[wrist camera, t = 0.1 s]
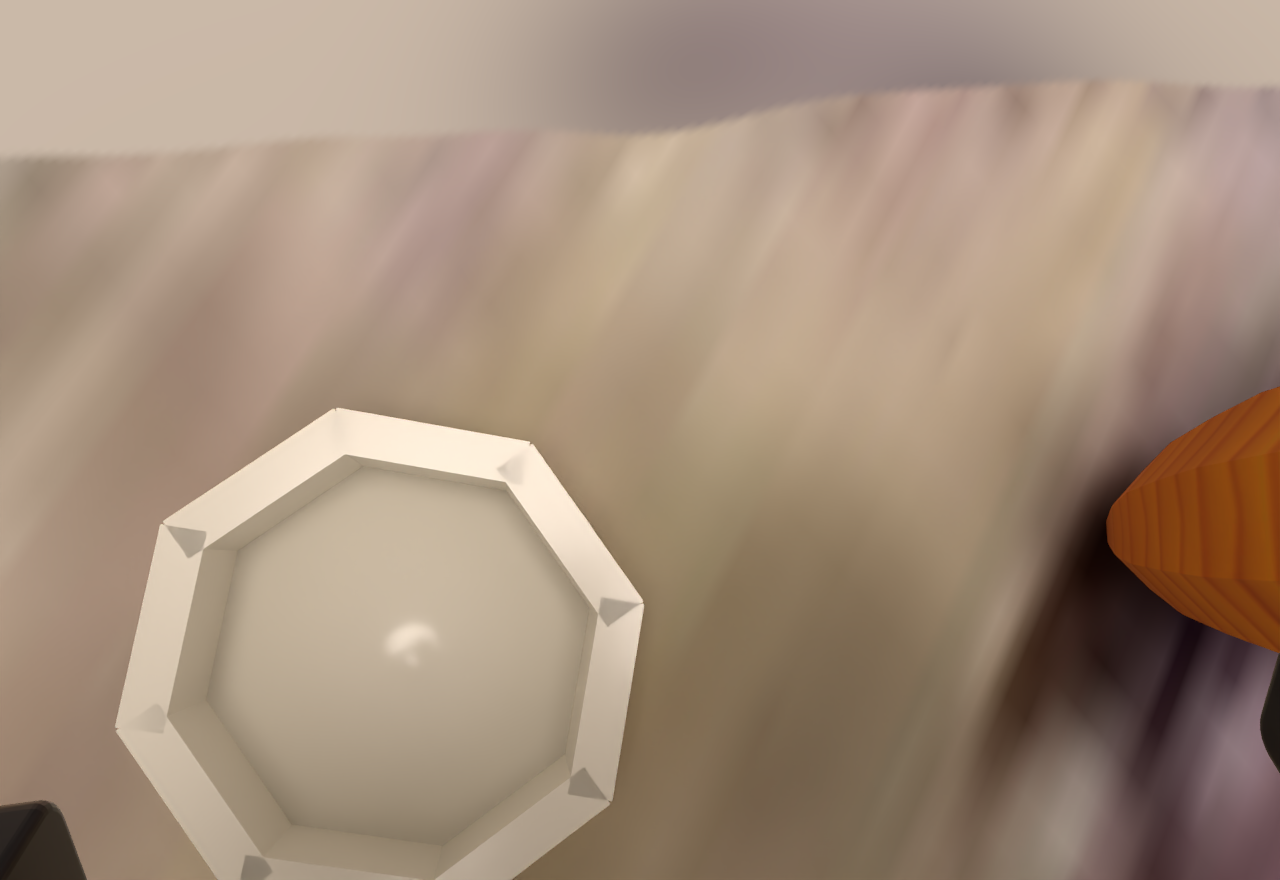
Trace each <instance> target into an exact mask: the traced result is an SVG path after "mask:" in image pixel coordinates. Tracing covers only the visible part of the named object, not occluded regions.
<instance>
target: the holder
mask: <svg viewBox="0 0 1280 880" xmlns="http://www.w3.org/2000/svg"><path fill="white" fill-rule="evenodd" d="M163 523H164V524H165V525H163V524H160V528H159V532H158V537H157V541H156V546H155V550H154V555H153V559H152V564H151V568H150V573H149V577H148V581H147V586H146V590H145V595H144V599H143V604H142V608H141V613H140V617H139V622H138V626H137V631H136V635H135V640H134V644H133V649H132V653H131V658H130V662H129V666H128V671H127V675H126V680H125V684H124V689H123V693H122V698H121V702H120V707H119V711H118V716H117V720H116V725H115V728H119V729H118V730H116V732H117V734H118V735H119V737H120V738H121V740H122V741H123V742H124V744H125V745H126V747H127V748H128V750H129V751H130V753H131V754H132V756H133V757H134V758H135V760H136V761H137V763H138V764H139V766H140V767H141V769H142V770H143V772H144V773H145V775H146V776H147V777H148V779H149V780H150V782H151V783H152V785H153V786H154V788H155V789H156V791H157V792H158V794H159V795H160V796H161V798H162V799H163V801H164V802H165V804H166V805H167V807H168V808H169V810H170V811H171V812H172V814H173V815H174V817H175V818H176V820H177V821H178V823H179V824H180V826H181V827H182V829H183V830H184V831H185V833H186V834H187V836H188V837H189V839H190V840H191V842H192V843H193V845H194V846H195V848H196V849H197V850H198V852H199V853H200V855H201V856H202V858H203V859H204V861H205V862H206V864H207V865H208V866H209V868H210V869H211V871H212V872H213V874H214V875H215V877H216V878H217V880H512V879H513V878H514V877H516V876H517V875H518V874H519V873H521V872H522V871H523V870H525V869H526V868H527V867H529V866H530V865H531V864H533V863H534V862H535V861H537V860H538V859H539V858H540V857H542V856H543V855H544V854H546V853H547V852H548V851H550V850H551V849H552V848H554V847H555V846H556V845H558V844H559V843H560V842H561V841H563V840H564V839H565V838H567V837H568V836H569V835H571V834H572V833H573V832H575V831H576V830H577V829H579V828H580V827H581V826H582V825H584V824H585V823H586V822H588V821H589V820H590V819H592V818H593V817H594V816H596V815H597V814H598V813H599V812H601V811H602V810H603V809H605V808H606V807H607V806H609V805H610V802H609V801H612V800H613V794H614V788H615V782H616V776H617V770H618V763H619V757H620V751H621V745H622V739H623V733H624V727H625V721H626V714H627V708H628V702H629V696H630V690H631V684H632V678H633V671H634V665H635V659H636V653H637V647H638V641H639V635H640V628H641V622H642V616H643V610H644V604H642V602H643V600H642V598H641V597H640V595H639V594H638V592H637V591H636V590H635V588H634V587H633V585H632V584H631V583H630V581H629V580H628V578H627V577H626V575H625V574H624V573H623V571H622V570H621V568H620V567H619V565H618V564H617V563H616V561H615V560H614V558H613V557H612V556H611V554H610V553H609V551H608V550H607V548H606V547H605V546H604V544H603V543H602V541H601V540H600V539H599V537H598V536H597V534H596V533H595V531H594V530H593V528H592V526H591V525H590V523H589V521H588V520H587V519H586V518H585V516H584V515H583V514H582V513H581V511H580V510H579V509H578V507H577V506H576V504H575V503H574V502H573V500H572V499H571V497H570V496H569V495H568V493H567V492H566V490H565V489H564V487H563V486H562V485H561V483H560V482H559V480H558V479H557V478H556V476H555V475H554V473H553V472H552V470H551V469H550V468H549V466H548V465H547V463H546V462H545V461H544V459H543V458H542V456H541V455H540V453H539V452H538V451H537V449H536V448H535V446H534V445H533V444H531V445H530V442H528V441H523V440H517V439H511V438H506V437H500V436H495V435H489V434H483V433H478V432H472V431H466V430H461V429H455V428H449V427H444V426H438V425H433V424H427V423H421V422H416V421H410V420H404V419H399V418H393V417H387V416H382V415H376V414H371V413H365V412H359V411H354V410H348V409H342V408H337V410H335V409H334V408H333V409H332V410H330V411H329V412H327V413H326V414H324V415H323V416H321V417H320V418H318V419H317V420H315V421H314V422H312V423H311V424H309V425H308V426H306V427H305V428H303V429H302V430H300V431H299V432H297V433H296V434H294V435H293V436H291V437H290V438H288V439H287V440H285V441H283V442H282V443H280V444H279V445H277V446H276V447H274V448H273V449H271V450H270V451H268V452H267V453H265V454H264V455H262V456H261V457H259V458H258V459H256V460H255V461H253V462H252V463H250V464H249V465H247V466H246V467H244V468H243V469H241V470H240V471H238V472H237V473H235V474H233V475H232V476H230V477H229V478H227V479H226V480H224V481H223V482H221V483H220V484H218V485H217V486H215V487H214V488H212V489H211V490H209V491H208V492H206V493H205V494H203V495H202V496H200V497H199V498H197V499H196V500H194V501H193V502H191V503H190V504H188V505H187V506H185V507H183V508H182V509H180V510H179V511H177V512H176V513H174V514H173V515H171V516H170V517H168V518H167V519H165V520H164V521H163Z"/></svg>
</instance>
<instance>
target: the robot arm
mask: <svg viewBox="0 0 1280 880" xmlns="http://www.w3.org/2000/svg"><path fill="white" fill-rule="evenodd" d="M1260 730H1261V736H1262V740H1263V743H1264V746H1265V748H1266V750H1267V752H1268V754H1269V756H1270V758H1271V760H1272V761H1273V763H1274V765H1275V766H1276V768H1277V770H1278V771H1279V773H1280V652H1279V655H1278V658H1277V662H1276V665H1275V669H1274V672H1273V676H1272V679H1271V683H1270V686H1269V689H1268V693H1267V696H1266V700H1265V703H1264V707H1263V710H1262V714H1261V719H1260ZM0 880H87V879H86V876H85V873H84V870H83V868H82V865H81V862H80V860H79V857H78V854H77V851H76V849H75V846H74V843H73V840H72V838H71V835H70V832H69V829H68V827H67V824H66V821H65V819H64V816H63V814H62V812H61V811H60V809H59V808H58V807H57V806H56V805H55V804H54V803H52V802H49V801H42V800H41V801H33V802H25V803H18V804H10V805H2V806H0Z"/></svg>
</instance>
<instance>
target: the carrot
mask: <svg viewBox="0 0 1280 880" xmlns="http://www.w3.org/2000/svg"><path fill="white" fill-rule="evenodd" d="M1106 525H1107V542H1108V544H1109V546H1110V548H1111V549H1112V551H1113V553H1114V554H1115V555H1116V556H1117V557H1118V558H1119V559H1120V560H1121V561H1122V562H1123V563H1124V564H1125V565H1126V566H1127V567H1128V568H1129V569H1130V570H1131V571H1132V572H1133V573H1134V574H1135V575H1136V576H1137V577H1138V578H1139V579H1140V580H1141V581H1142V582H1143V583H1144V584H1145V585H1146V586H1147V587H1148V588H1149V589H1150V590H1152V591H1153V592H1154V593H1156V594H1157V595H1158V596H1159V597H1161V598H1162V599H1163V600H1165V601H1166V602H1167V603H1168V604H1170V605H1171V606H1172V607H1173V608H1175V609H1176V610H1177V611H1179V612H1180V613H1181V614H1183V615H1185V616H1187V617H1190V618H1192V619H1194V620H1196V621H1199V622H1201V623H1203V624H1206V625H1208V626H1210V627H1212V628H1215V629H1217V630H1219V631H1221V632H1224V633H1226V634H1228V635H1231V636H1234V637H1237V638H1239V639H1242V640H1245V641H1247V642H1250V643H1253V644H1256V645H1258V646H1261V647H1264V648H1267V649H1269V650H1272V651H1275V652H1278V653H1279V652H1280V387H1277V388H1274V389H1271V390H1268V391H1265V392H1262V393H1260V394H1258V395H1256V396H1254V397H1252V398H1250V399H1248V400H1246V401H1244V402H1242V403H1240V404H1238V405H1236V406H1234V407H1232V408H1230V409H1228V410H1226V411H1224V412H1222V413H1220V414H1218V415H1217V416H1215V417H1213V418H1211V419H1209V420H1207V421H1206V422H1204V423H1202V424H1201V425H1199V426H1197V427H1196V428H1194V429H1192V430H1191V431H1189V432H1187V433H1186V434H1184V435H1182V436H1181V437H1179V438H1177V439H1176V440H1174V441H1172V442H1171V443H1170V444H1169V445H1168V446H1167V447H1166V448H1165V449H1164V450H1163V451H1162V452H1161V453H1160V454H1159V455H1158V456H1157V457H1156V458H1155V459H1154V460H1153V461H1152V462H1151V463H1150V464H1149V465H1148V466H1147V467H1146V468H1145V469H1144V470H1143V471H1142V472H1141V473H1140V474H1139V476H1138V477H1137V478H1136V479H1135V480H1134V481H1133V482H1132V484H1131V485H1130V486H1129V487H1128V488H1127V489H1126V490H1125V492H1124V493H1123V494H1122V495H1121V496H1120V497H1119V498H1118V499H1117V501H1116V502H1115V503H1114V504H1113V505H1112V507H1111V509H1110V512H1109V515H1108V518H1107V521H1106Z"/></svg>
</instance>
